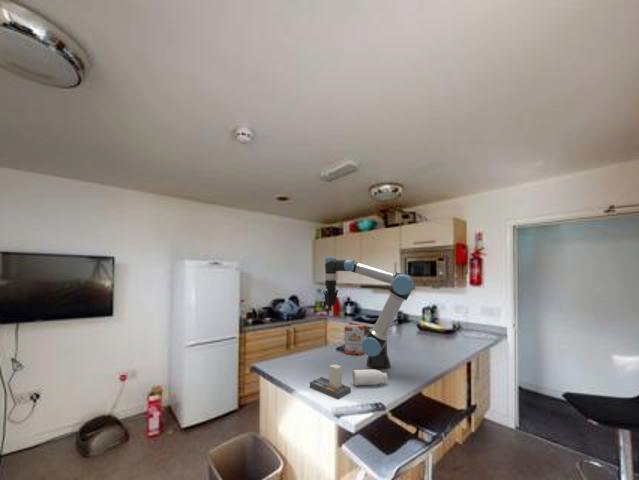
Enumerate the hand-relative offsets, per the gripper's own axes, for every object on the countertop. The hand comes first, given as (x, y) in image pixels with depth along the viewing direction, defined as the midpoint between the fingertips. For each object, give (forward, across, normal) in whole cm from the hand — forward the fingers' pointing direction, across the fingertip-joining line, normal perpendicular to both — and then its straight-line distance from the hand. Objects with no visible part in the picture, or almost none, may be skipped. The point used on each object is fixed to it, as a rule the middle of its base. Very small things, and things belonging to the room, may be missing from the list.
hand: (331, 315), depth 183 cm
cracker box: (+33, -32, -5) cm, 46 cm away
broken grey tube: (+33, +7, +34) cm, 48 cm away
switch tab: (+30, +27, +27) cm, 48 cm away
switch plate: (+32, +27, +23) cm, 48 cm away
